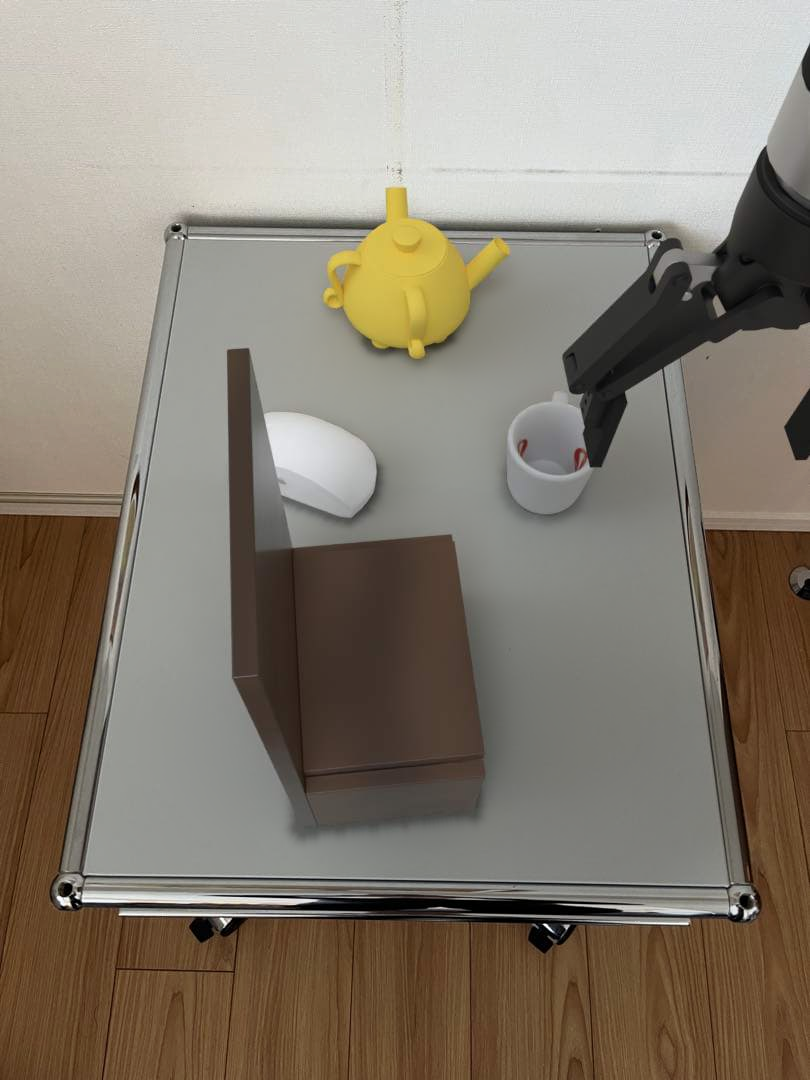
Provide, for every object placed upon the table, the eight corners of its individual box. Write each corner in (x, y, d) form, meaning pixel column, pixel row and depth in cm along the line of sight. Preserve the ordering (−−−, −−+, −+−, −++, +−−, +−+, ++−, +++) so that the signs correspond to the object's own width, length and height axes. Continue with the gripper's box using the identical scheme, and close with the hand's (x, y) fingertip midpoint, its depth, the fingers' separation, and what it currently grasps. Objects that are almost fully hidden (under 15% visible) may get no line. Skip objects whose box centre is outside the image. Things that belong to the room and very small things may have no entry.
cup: (510, 420, 89) (520, 367, 82) (594, 434, 88) (611, 382, 81) (492, 517, 84) (500, 469, 77) (580, 533, 83) (597, 487, 76)
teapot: (506, 305, 95) (518, 221, 85) (426, 391, 90) (429, 312, 80) (394, 242, 99) (393, 155, 89) (311, 321, 94) (301, 237, 84)
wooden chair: (445, 593, 80) (473, 330, 50) (474, 810, 72) (529, 651, 42) (291, 606, 80) (226, 348, 50) (302, 828, 71) (231, 678, 41)
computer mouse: (261, 424, 88) (251, 384, 83) (387, 470, 86) (387, 431, 80) (229, 478, 85) (217, 440, 80) (359, 527, 83) (356, 491, 78)
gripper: (1065, 117, 45) (859, 395, 64) (560, 119, 43) (497, 406, 62) (1137, 225, 42) (896, 488, 60) (588, 232, 40) (512, 502, 58)
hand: (694, 447), depth 61 cm, fingers open, 13 cm apart
